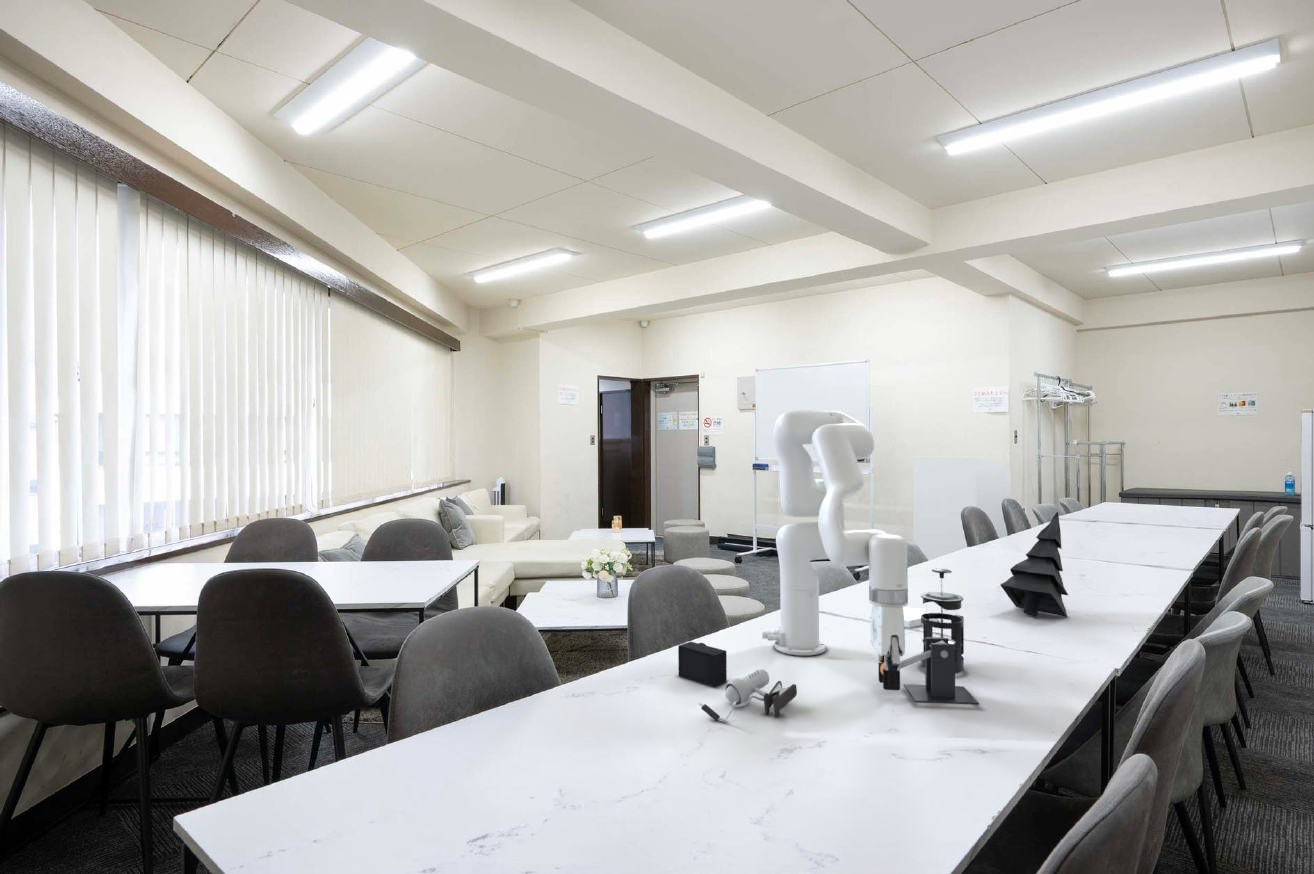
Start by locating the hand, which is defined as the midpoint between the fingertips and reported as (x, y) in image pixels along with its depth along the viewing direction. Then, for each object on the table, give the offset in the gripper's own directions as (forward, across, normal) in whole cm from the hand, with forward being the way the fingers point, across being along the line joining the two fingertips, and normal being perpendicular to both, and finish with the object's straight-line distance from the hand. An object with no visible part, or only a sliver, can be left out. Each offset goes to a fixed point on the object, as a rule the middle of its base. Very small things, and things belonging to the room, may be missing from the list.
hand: (889, 685), depth 139 cm
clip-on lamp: (+3, +10, -29) cm, 31 cm away
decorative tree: (+2, -74, +62) cm, 96 cm away
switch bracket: (+3, 0, +10) cm, 10 cm away
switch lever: (-4, 0, +5) cm, 7 cm away
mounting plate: (+2, -62, +18) cm, 65 cm away
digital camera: (+3, -7, -38) cm, 39 cm away
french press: (+3, -18, +16) cm, 24 cm away
